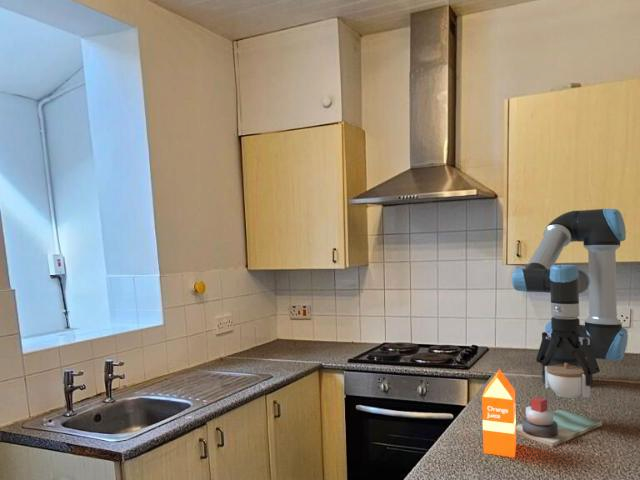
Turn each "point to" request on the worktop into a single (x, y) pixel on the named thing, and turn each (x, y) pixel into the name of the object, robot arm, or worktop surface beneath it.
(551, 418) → the dome
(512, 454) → the orange juice
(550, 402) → the worktop surface
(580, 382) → the lidded jar
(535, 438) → the game board
